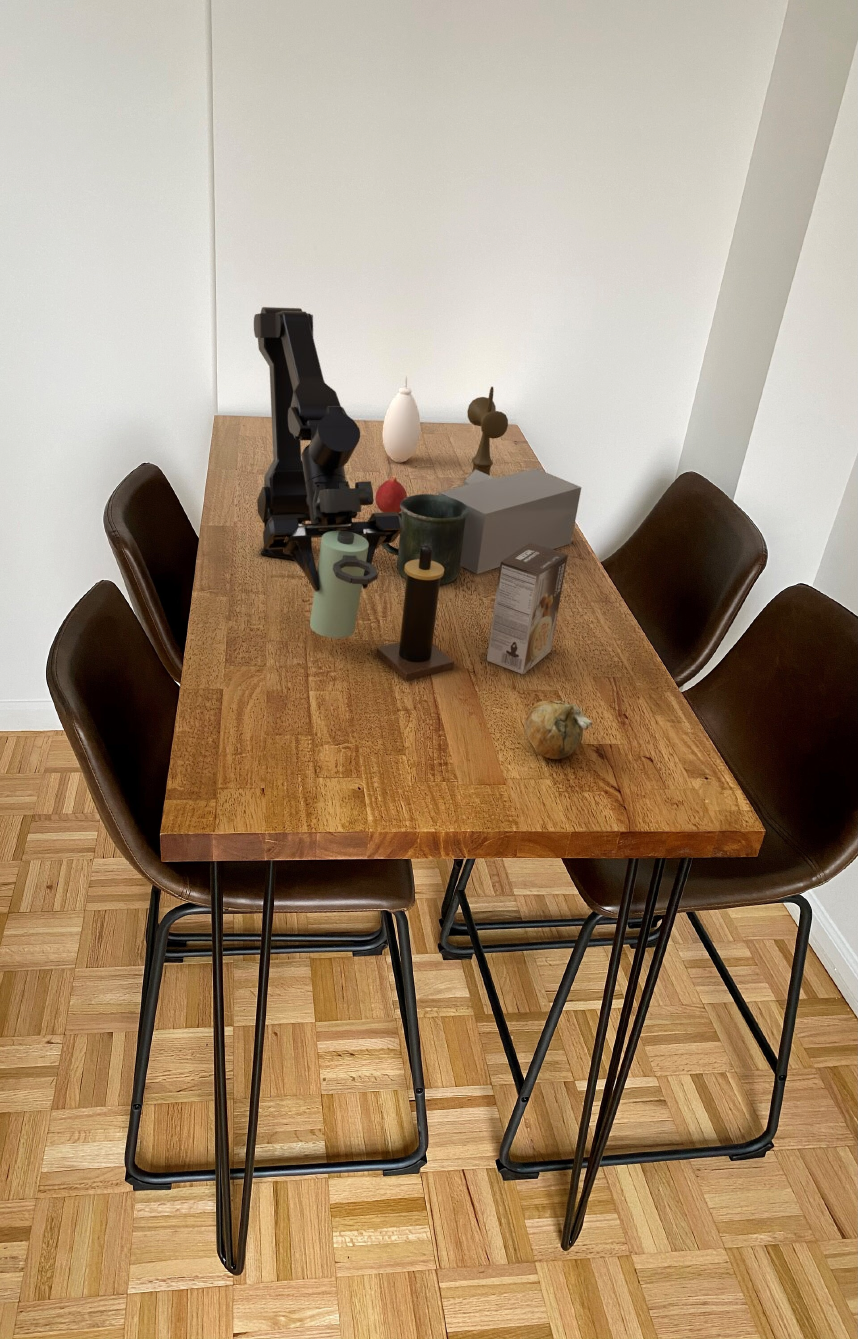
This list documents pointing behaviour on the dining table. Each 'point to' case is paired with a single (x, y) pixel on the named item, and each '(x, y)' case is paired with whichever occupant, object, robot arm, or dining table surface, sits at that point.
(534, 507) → the plain grey rectangular block
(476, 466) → the kendama
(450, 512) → the mug
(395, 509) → the onion
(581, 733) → the onion
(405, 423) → the sauce bottle
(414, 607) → the black cylinder with base
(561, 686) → the dining table surface
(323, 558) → the mint green lidded canister
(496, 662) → the coffee box
